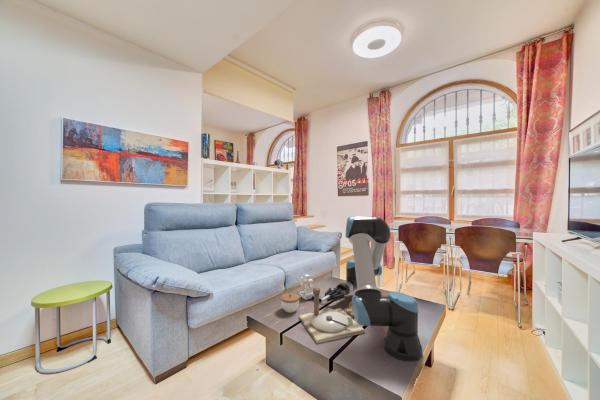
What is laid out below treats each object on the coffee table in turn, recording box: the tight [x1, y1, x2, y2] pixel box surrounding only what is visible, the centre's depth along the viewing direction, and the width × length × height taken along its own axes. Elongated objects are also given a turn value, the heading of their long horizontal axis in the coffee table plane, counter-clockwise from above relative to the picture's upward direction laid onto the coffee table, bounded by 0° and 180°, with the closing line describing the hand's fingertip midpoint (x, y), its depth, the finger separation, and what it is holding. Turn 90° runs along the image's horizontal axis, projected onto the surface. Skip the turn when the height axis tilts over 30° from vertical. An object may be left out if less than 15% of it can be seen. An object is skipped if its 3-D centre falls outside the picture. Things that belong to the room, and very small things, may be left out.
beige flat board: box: [298, 307, 366, 344], centre depth 122 cm, size 24×25×2 cm
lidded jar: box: [280, 292, 300, 314], centre depth 138 cm, size 11×11×9 cm
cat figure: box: [345, 301, 355, 319], centre depth 136 cm, size 10×9×25 cm
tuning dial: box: [311, 287, 349, 332], centre depth 122 cm, size 21×19×15 cm
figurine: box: [299, 273, 314, 301], centre depth 154 cm, size 7×9×15 cm
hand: (322, 301), depth 130 cm, fingers closed
